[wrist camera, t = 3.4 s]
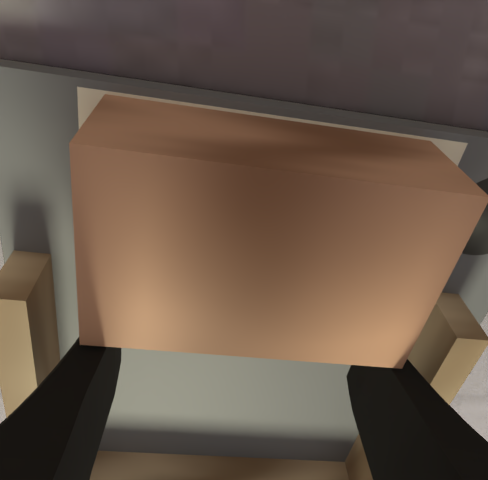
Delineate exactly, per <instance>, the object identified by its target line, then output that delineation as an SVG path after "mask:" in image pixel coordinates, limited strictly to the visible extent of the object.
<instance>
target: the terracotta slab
mask: <svg viewBox="0 0 488 480" xmlns="http://www.w3.org/2000/svg"><path fill="white" fill-rule="evenodd" d="M69 151H70V170H71V189H72V208H73V227H74V246H75V265H76V284H77V303H78V322H79V341H80V345H90V346H104V347H117V348H131V349H144V350H157V351H171V352H184V353H198V354H211V355H225V356H238V357H252V358H265V359H278V360H292V361H305V362H319V363H332V364H346V365H359V366H373V367H386V368H400V369H402V368H403V366H404V364H405V362H406V360H407V358H408V356H409V354H410V352H411V350H412V349H413V347H414V345H415V343H416V341H417V339H418V337H419V335H420V333H421V331H422V329H423V327H424V325H425V323H426V321H427V319H428V318H429V316H430V314H431V312H432V310H433V308H434V306H435V304H436V302H437V300H438V298H439V296H440V294H441V292H442V290H443V288H444V287H445V285H446V283H447V281H448V279H449V277H450V275H451V273H452V271H453V269H454V267H455V265H456V263H457V261H458V259H459V257H460V256H461V254H462V252H463V250H464V248H465V246H466V244H467V242H468V240H469V238H470V236H471V234H472V232H473V230H474V228H475V227H476V225H477V223H478V221H479V219H480V217H481V215H482V213H483V211H484V209H485V207H486V205H487V203H488V195H487V194H486V193H485V192H484V191H483V190H482V189H481V188H480V187H479V186H478V185H477V184H476V183H475V182H474V181H473V180H472V179H470V178H469V177H468V176H467V175H466V174H465V173H464V172H463V171H462V170H461V169H460V168H459V167H458V166H457V165H456V164H455V163H454V162H452V161H451V160H450V159H449V158H448V157H447V156H446V155H445V154H444V153H443V152H442V151H441V150H440V149H439V148H438V147H437V146H436V145H435V144H433V143H432V142H431V141H428V140H421V139H414V138H407V137H400V136H393V135H386V134H379V133H372V132H365V131H358V130H351V129H344V128H337V127H331V126H324V125H317V124H310V123H303V122H296V121H289V120H282V119H275V118H268V117H261V116H254V115H247V114H240V113H233V112H226V111H219V110H212V109H205V108H198V107H191V106H185V105H178V104H171V103H164V102H157V101H150V100H143V99H136V98H129V97H122V96H115V95H108V94H105V95H104V96H103V97H102V99H101V100H100V101H99V103H98V104H97V106H96V107H95V108H94V110H93V111H92V112H91V114H90V115H89V116H88V118H87V119H86V121H85V122H84V123H83V125H82V126H81V127H80V129H79V130H78V132H77V133H76V134H75V136H74V137H73V138H72V140H71V141H70V143H69Z"/></svg>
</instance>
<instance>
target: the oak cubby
mask: <svg viewBox="0 0 488 480" xmlns="http://www.w3.org/2000/svg"><path fill="white" fill-rule="evenodd" d="M487 345H488V337H487V335H486V334H485V332H484V331H483V329H482V328H481V326H480V325H479V323H478V322H477V320H476V319H475V317H474V316H473V314H472V313H471V312H470V310H469V309H468V307H467V306H466V304H465V303H464V301H463V300H462V298H461V297H460V295H459V294H452V293H442V292H441V294H440V296H439V298H438V300H437V302H436V304H435V306H434V308H433V310H432V312H431V314H430V316H429V318H428V319H427V321H426V323H425V325H424V327H423V329H422V331H421V333H420V335H419V337H418V339H417V341H416V343H415V345H414V347H413V349H412V350H411V352H410V354H409V356H408V358H407V359H408V360H409V361H410V362H411V363H412V365H413V366H414V367H415V368H416V369H417V370H418V372H419V373H420V374H421V375H422V376H423V377H424V378H425V379H426V381H427V382H428V383H429V384H430V385H431V386H432V387H433V388H434V389H435V391H436V392H437V393H438V394H439V395H440V396H441V397H442V398H443V399H444V400H445V401H446V402H447V403H448V404H449V405H450V403H451V402H452V400H453V398H454V397H455V395H456V394H457V392H458V391H459V389H460V387H461V386H462V384H463V383H464V381H465V380H466V378H467V377H468V375H469V373H470V372H471V370H472V369H473V367H474V366H475V364H476V362H477V361H478V359H479V358H480V356H481V355H482V353H483V351H484V350H485V348H486V347H487ZM59 362H60V352H59V341H58V329H57V318H56V306H55V295H54V283H53V272H52V261H51V254H46V253H35V252H25V251H15V250H14V251H13V252H12V254H11V255H10V257H9V258H8V260H7V261H6V263H5V264H4V266H3V267H2V269H1V270H0V387H1V392H2V397H3V402H4V407H5V412H6V417H8V416H9V415H10V414H11V413H12V412H13V411H14V410H15V409H16V408H18V407H19V406H20V405H21V404H22V403H23V402H24V400H25V399H26V398H27V397H28V396H29V395H30V394H31V393H32V392H33V391H34V390H35V389H36V388H37V387H38V386H39V385H40V383H41V382H42V381H43V380H44V379H45V378H46V377H47V376H48V375H49V373H50V372H51V371H52V370H53V369H54V368H55V367H56V365H57V364H58V363H59ZM90 480H373V478H372V475H371V471H370V468H369V465H368V462H367V458H366V455H365V452H364V448H363V445H362V442H361V439H360V435H359V434H358V436H357V438H356V440H355V442H354V444H353V446H352V448H351V450H350V452H349V454H348V456H347V458H346V460H345V462H335V461H313V460H291V459H270V458H248V457H226V456H204V455H182V454H160V453H138V452H117V451H98V452H97V456H96V459H95V462H94V465H93V469H92V472H91V476H90Z"/></svg>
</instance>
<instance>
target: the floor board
mask: <svg viewBox="0 0 488 480" xmlns="http://www.w3.org/2000/svg"><path fill="white" fill-rule="evenodd" d="M105 94H108V95H115V96H122V97H129V98H136V99H143V100H150V101H157V102H164V103H171V104H178V105H185V106H191V107H198V108H205V109H212V110H219V111H226V112H233V113H240V114H247V115H254V116H261V117H268V118H275V119H282V120H289V121H296V122H303V123H310V124H317V125H324V126H331V127H337V128H344V129H351V130H358V131H365V132H372V133H379V134H386V135H393V136H400V137H407V138H414V139H421V140H428V141H431V142H432V143H433V144H435V145H436V146H437V147H438V148H439V149H440V150H441V151H442V152H443V153H444V154H445V155H446V156H447V157H448V158H449V159H450V160H451V161H452V162H454V163H455V164H456V165H457V166H458V167H459V168H460V169H461V170H462V171H463V172H464V173H465V174H466V175H467V176H468V177H469V178H470V179H472V180H473V181H474V182H475V183H476V184H477V185H478V186H479V187H480V188H481V189H482V190H483V191H484V192H485V193H486V194H487V195H488V131H481V130H474V129H467V128H461V127H454V126H447V125H441V124H434V123H427V122H421V121H414V120H407V119H400V118H394V117H387V116H380V115H374V114H367V113H360V112H354V111H347V110H340V109H333V108H327V107H320V106H313V105H307V104H300V103H293V102H287V101H280V100H273V99H267V98H260V97H253V96H246V95H240V94H233V93H226V92H220V91H213V90H206V89H200V88H193V87H186V86H179V85H173V84H166V83H159V82H153V81H146V80H139V79H133V78H126V77H119V76H112V75H106V74H99V73H92V72H86V71H79V70H72V69H66V68H59V67H52V66H45V65H39V64H32V63H25V62H19V61H12V60H5V59H0V238H1V244H2V251H3V257H4V264H5V263H6V261H7V260H8V258H9V257H10V255H11V254H12V252H13V251H14V250H15V251H25V252H35V253H46V254H51V261H52V272H53V283H54V295H55V306H56V318H57V329H58V341H59V352H60V360H61V359H62V358H63V357H64V355H65V354H66V353H67V352H68V351H69V349H70V348H71V347H72V346H73V344H74V343H75V342H76V340H77V339H78V337H79V322H78V303H77V284H76V265H75V246H74V227H73V208H72V189H71V170H70V151H69V143H70V141H71V140H72V138H73V137H74V136H75V134H76V133H77V132H78V130H79V129H80V127H81V126H82V125H83V123H84V122H85V121H86V119H87V118H88V116H89V115H90V114H91V112H92V111H93V110H94V108H95V107H96V106H97V104H98V103H99V101H100V100H101V99H102V97H103V96H104V95H105ZM442 293H452V294H459V295H460V297H461V298H462V300H463V301H464V303H465V304H466V306H467V307H468V309H469V310H470V312H471V313H472V314H473V316H474V317H475V319H476V320H477V322H478V323H479V325H480V324H481V322H482V321H483V319H484V317H485V316H486V314H487V312H488V203H487V205H486V207H485V209H484V211H483V213H482V215H481V217H480V219H479V221H478V223H477V225H476V227H475V228H474V230H473V232H472V234H471V236H470V238H469V240H468V242H467V244H466V246H465V248H464V250H463V252H462V254H461V256H460V257H459V259H458V261H457V263H456V265H455V267H454V269H453V271H452V273H451V275H450V277H449V279H448V281H447V283H446V285H445V287H444V288H443V290H442ZM350 366H351V365H346V364H332V363H319V362H305V361H292V360H278V359H265V358H252V357H238V356H225V355H211V354H198V353H184V352H171V351H157V350H144V349H131V348H121V365H120V370H119V376H118V381H117V386H116V391H115V396H114V399H113V403H112V406H111V409H110V413H109V416H108V419H107V423H106V426H105V429H104V432H103V436H102V439H101V442H100V446H99V449H98V451H117V452H138V453H160V454H182V455H204V456H226V457H248V458H270V459H291V460H313V461H335V462H345V460H346V458H347V456H348V454H349V452H350V450H351V448H352V446H353V444H354V442H355V440H356V438H357V436H358V434H359V432H358V429H357V425H356V422H355V418H354V415H353V411H352V407H351V402H350V396H349V390H348V383H347V377H346V376H347V374H348V371H349V369H350Z"/></svg>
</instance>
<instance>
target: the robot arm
mask: <svg viewBox="0 0 488 480" xmlns="http://www.w3.org/2000/svg"><path fill="white" fill-rule="evenodd" d="M120 365H121V348H117V347H104V346H90V345H80V341H79V337H78V339H77V340H76V342H75V343H74V344H73V346H72V347H71V348H70V349H69V351H68V352H67V353H66V354H65V355H64V357H63V358H62V359H61V360H60V362H59V363H58V364H57V365H56V367H55V368H54V369H53V370H52V371H51V372H50V373H49V375H48V376H47V377H46V378H45V379H44V380H43V381H42V382H41V383H40V385H39V386H38V387H37V388H36V389H35V390H34V391H33V392H32V393H31V394H30V395H29V396H28V397H27V398H26V399H25V400H24V402H23V403H22V404H21V405H20V406H19V407H18V408H16V409H15V410H14V411H13V412H12V413H11V414H10V415H9V416H8V417H7V418H6V419H5V420H4V421H3V422H2V423H1V424H0V480H90V476H91V472H92V469H93V465H94V462H95V459H96V456H97V452H98V449H99V446H100V442H101V439H102V436H103V432H104V429H105V426H106V423H107V419H108V416H109V413H110V409H111V406H112V403H113V399H114V396H115V391H116V386H117V381H118V376H119V370H120ZM346 377H347V383H348V390H349V396H350V402H351V407H352V411H353V415H354V418H355V422H356V425H357V429H358V432H359V435H360V439H361V442H362V445H363V448H364V452H365V455H366V458H367V462H368V465H369V468H370V471H371V475H372V478H373V480H488V442H487V441H486V440H485V439H484V438H483V437H482V436H481V435H479V434H478V433H477V432H476V431H475V430H474V429H473V428H472V427H471V426H470V425H469V424H468V423H467V422H466V421H464V420H463V419H462V418H461V416H460V415H459V414H458V413H457V412H456V411H455V410H454V409H453V408H452V407H451V406H450V405H449V404H448V403H447V402H446V401H445V400H444V399H443V398H442V397H441V396H440V395H439V394H438V393H437V392H436V391H435V389H434V388H433V387H432V386H431V385H430V384H429V383H428V382H427V381H426V379H425V378H424V377H423V376H422V375H421V374H420V373H419V372H418V370H417V369H416V368H415V367H414V366H413V365H412V363H411V362H410V361H409V360H408V359H407V360H406V362H405V364H404V366H403V368H402V369H400V368H386V367H373V366H359V365H351V366H350V369H349V371H348V374H347V376H346Z"/></svg>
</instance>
